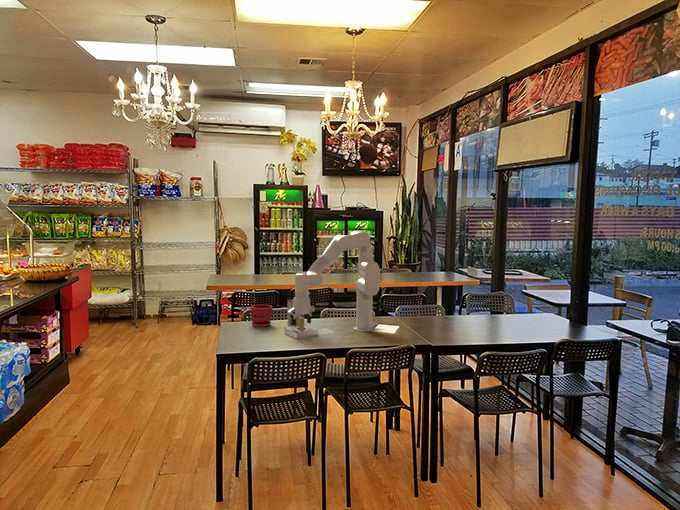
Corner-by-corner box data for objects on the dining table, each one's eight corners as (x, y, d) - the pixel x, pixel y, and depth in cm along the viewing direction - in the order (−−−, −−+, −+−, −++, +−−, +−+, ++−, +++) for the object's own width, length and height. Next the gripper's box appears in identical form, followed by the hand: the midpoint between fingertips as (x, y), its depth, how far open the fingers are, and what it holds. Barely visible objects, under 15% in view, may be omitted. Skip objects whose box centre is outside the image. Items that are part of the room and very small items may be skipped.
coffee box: (301, 324, 292) (301, 298, 290) (304, 326, 286) (304, 300, 284) (287, 325, 288) (287, 299, 286) (289, 327, 282) (290, 301, 281)
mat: (326, 329, 281) (326, 328, 281) (336, 332, 273) (336, 332, 273) (312, 331, 275) (312, 330, 275) (321, 335, 267) (321, 334, 267)
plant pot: (274, 327, 283) (274, 307, 282) (253, 328, 278) (253, 308, 277) (269, 321, 295) (269, 303, 294) (248, 323, 290) (248, 304, 289)
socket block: (305, 329, 278) (305, 324, 278) (317, 335, 267) (318, 329, 266) (284, 333, 270) (284, 327, 270) (296, 339, 259) (296, 333, 258)
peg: (302, 333, 270) (302, 317, 269) (304, 334, 268) (305, 318, 267) (297, 334, 269) (297, 317, 268) (300, 335, 266) (300, 319, 265)
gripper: (311, 292, 274) (310, 320, 276) (285, 295, 264) (285, 325, 266) (318, 294, 268) (317, 323, 270) (291, 297, 258) (291, 327, 260)
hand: (301, 324), depth 268 cm, fingers open, 9 cm apart
